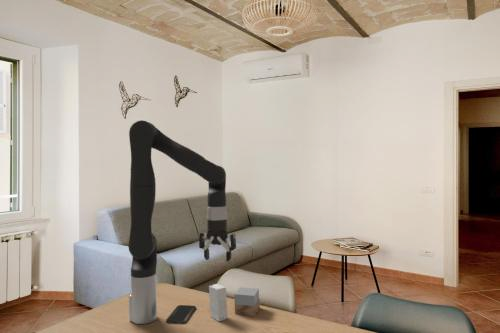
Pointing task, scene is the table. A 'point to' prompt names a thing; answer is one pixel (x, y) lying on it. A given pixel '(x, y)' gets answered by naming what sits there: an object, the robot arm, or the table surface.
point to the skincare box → (218, 302)
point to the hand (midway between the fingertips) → (217, 260)
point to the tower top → (246, 296)
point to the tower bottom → (247, 309)
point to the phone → (181, 314)
